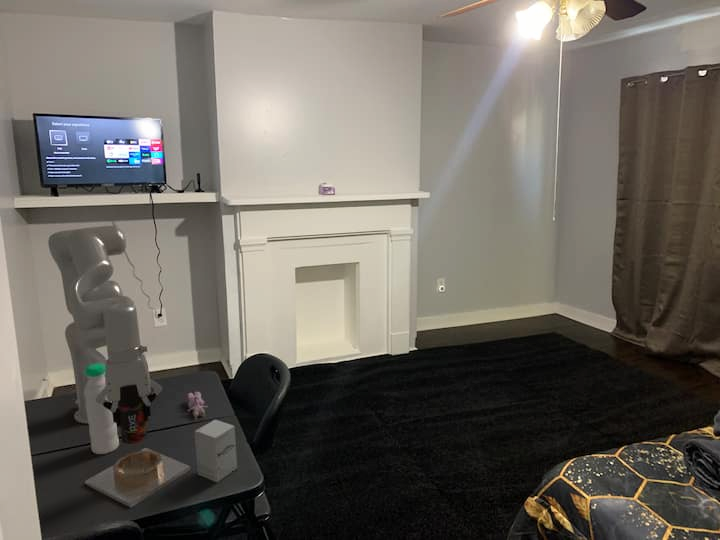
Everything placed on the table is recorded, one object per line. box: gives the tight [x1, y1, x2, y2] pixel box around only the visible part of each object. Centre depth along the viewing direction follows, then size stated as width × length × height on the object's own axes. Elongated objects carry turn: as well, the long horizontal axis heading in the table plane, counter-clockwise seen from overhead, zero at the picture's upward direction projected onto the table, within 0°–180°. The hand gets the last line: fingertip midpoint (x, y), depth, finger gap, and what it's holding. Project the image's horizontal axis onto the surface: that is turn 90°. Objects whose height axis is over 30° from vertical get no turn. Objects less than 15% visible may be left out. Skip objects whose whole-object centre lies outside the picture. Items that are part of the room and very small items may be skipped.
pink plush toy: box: [187, 391, 209, 420], centre depth 176 cm, size 6×6×15 cm
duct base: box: [84, 447, 191, 508], centre depth 141 cm, size 18×18×4 cm
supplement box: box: [194, 419, 238, 483], centre depth 142 cm, size 7×7×13 cm
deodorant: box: [117, 385, 148, 445], centre depth 137 cm, size 6×6×15 cm
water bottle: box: [84, 364, 120, 455], centre depth 152 cm, size 7×7×25 cm
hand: (132, 421), depth 138 cm, fingers closed on deodorant, 5 cm apart
